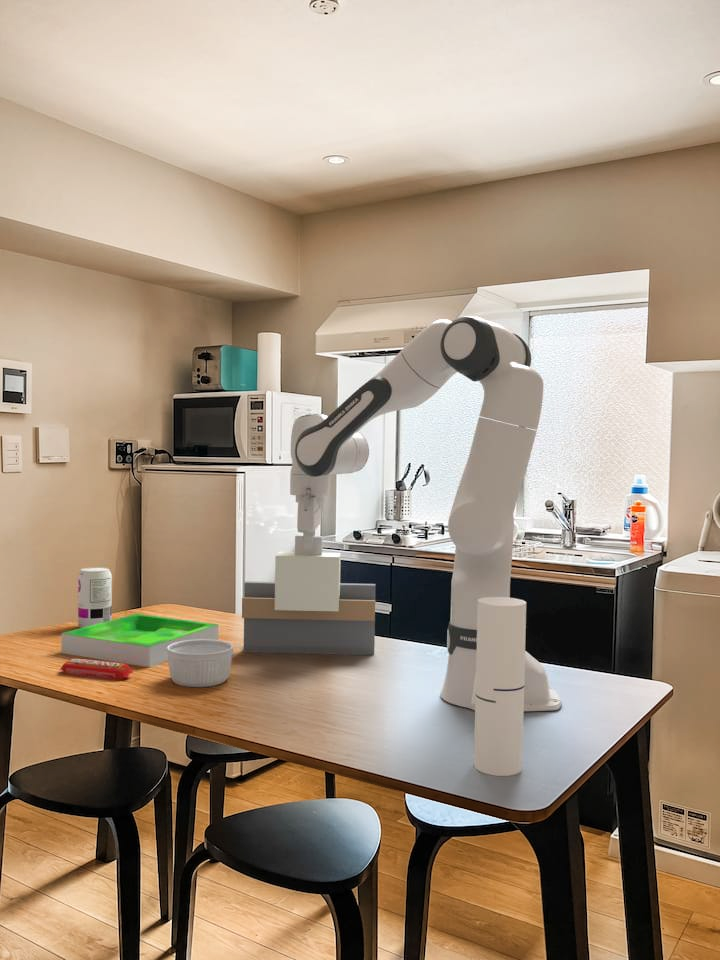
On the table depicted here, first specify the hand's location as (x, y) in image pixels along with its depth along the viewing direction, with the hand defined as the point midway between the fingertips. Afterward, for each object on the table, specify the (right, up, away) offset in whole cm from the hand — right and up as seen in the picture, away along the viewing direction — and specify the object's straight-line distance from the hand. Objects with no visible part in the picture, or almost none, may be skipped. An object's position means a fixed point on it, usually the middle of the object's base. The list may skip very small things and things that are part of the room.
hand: (309, 549), depth 186 cm
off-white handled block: (0, -13, +1) cm, 13 cm away
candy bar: (-43, -25, -15) cm, 52 cm away
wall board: (0, -24, +6) cm, 25 cm away
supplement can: (-57, -23, +28) cm, 67 cm away
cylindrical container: (+32, -28, -61) cm, 74 cm away
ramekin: (-21, -25, -18) cm, 37 cm away
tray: (-39, -24, +8) cm, 47 cm away
